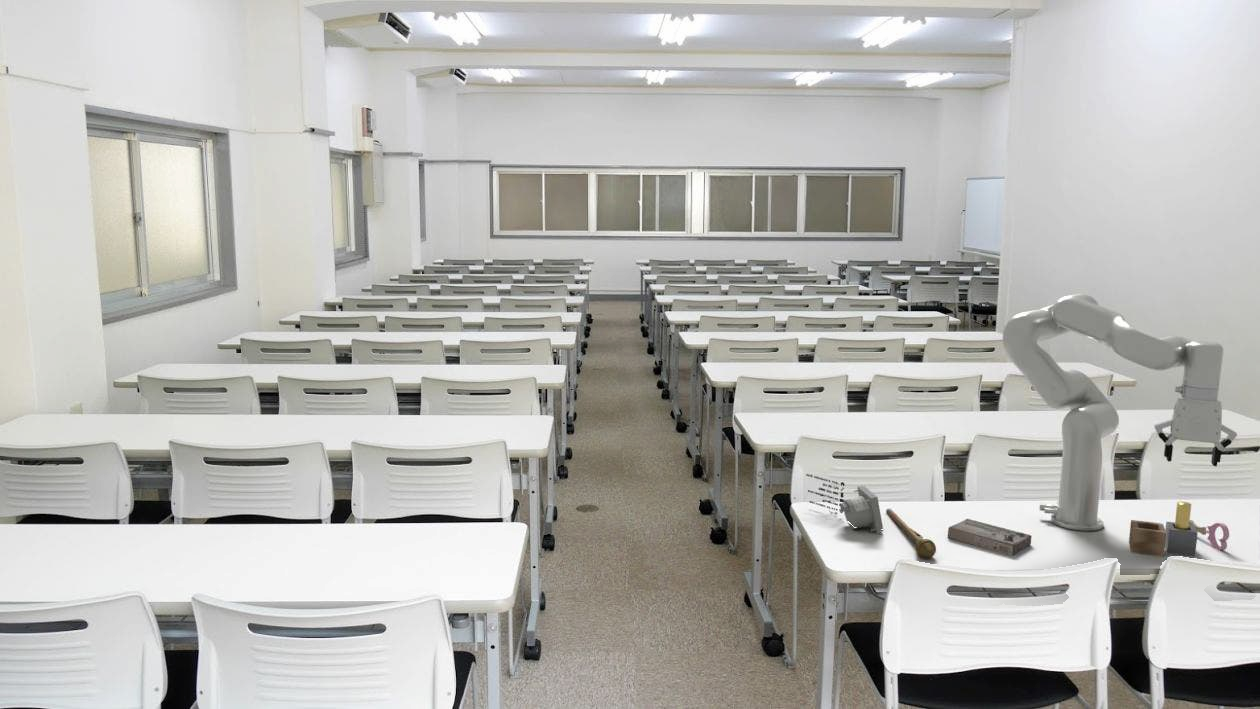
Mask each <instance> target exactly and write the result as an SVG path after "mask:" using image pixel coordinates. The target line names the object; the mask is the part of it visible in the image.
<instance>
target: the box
mask: <svg viewBox="0 0 1260 709" xmlns="http://www.w3.org/2000/svg"><path fill="white" fill-rule="evenodd" d="M947 538H948V539H953V540H956V541H960V542H963V543H966V544H969V545H970V544H971V545H973V546H977V547H981V548H984V549H988V550H990V551H994V552H997V553H1001V554H1005V555H1009V556H1015V555H1017V554H1018V553H1019V552H1021V551H1023V550H1025V549H1026V548H1027V547H1029V546H1030V545H1031V544H1032V535H1031V534H1027V533H1024V532H1019V531H1017V530H1012V529H1009V528H1004V527H1001V526H996V525H992V524H989V523H986V522H981V521H979V520H973V519H969V518H967V519H964V520H962V521H960V522H958V523H956V524H953V525H951V526H949V527H948V531H947Z"/></svg>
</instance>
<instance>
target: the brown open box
mask: <svg viewBox="0 0 1260 709" xmlns="http://www.w3.org/2000/svg"><path fill="white" fill-rule="evenodd" d="M1129 527H1130V528H1129V537H1128V538H1129V539H1128V545H1129V549H1130V552H1131V553H1134V554H1141V555H1142V554H1143V555H1151V556H1157V557H1158V556H1159V557H1164V556H1165V551H1166V549H1165V541H1166V531H1165V529H1166V527H1165V526H1164V523H1162V522H1154V521H1153V522H1152V521H1144V520H1136V519H1130V526H1129Z"/></svg>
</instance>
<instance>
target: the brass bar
mask: <svg viewBox="0 0 1260 709" xmlns="http://www.w3.org/2000/svg"><path fill="white" fill-rule="evenodd" d="M1176 503H1177V504H1176V511H1175V521H1174V523H1175V529H1184V530H1189V521H1190V520H1191V511H1192V503H1190V502H1188V501H1187V502H1186V501H1177V502H1176Z"/></svg>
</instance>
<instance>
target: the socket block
mask: <svg viewBox="0 0 1260 709" xmlns="http://www.w3.org/2000/svg"><path fill="white" fill-rule="evenodd" d="M1165 531H1166V541H1165V551H1166V553H1167V554H1173V555H1181V556H1187V557H1189V556H1190V557H1196V553H1197V552H1196V550H1197V541H1198V535H1199V534H1198V533H1199V532H1197V530H1196V528H1195V526H1194V525H1191V524H1189V530H1184V529H1175V521H1174V522H1173V521H1166V522H1165Z"/></svg>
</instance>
